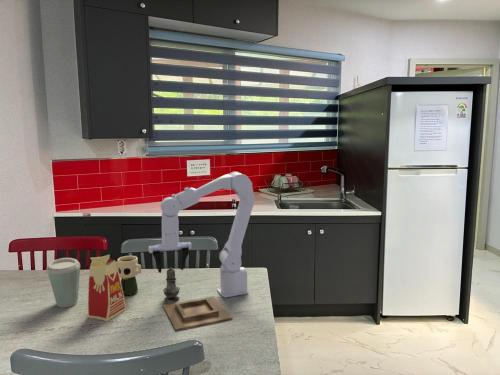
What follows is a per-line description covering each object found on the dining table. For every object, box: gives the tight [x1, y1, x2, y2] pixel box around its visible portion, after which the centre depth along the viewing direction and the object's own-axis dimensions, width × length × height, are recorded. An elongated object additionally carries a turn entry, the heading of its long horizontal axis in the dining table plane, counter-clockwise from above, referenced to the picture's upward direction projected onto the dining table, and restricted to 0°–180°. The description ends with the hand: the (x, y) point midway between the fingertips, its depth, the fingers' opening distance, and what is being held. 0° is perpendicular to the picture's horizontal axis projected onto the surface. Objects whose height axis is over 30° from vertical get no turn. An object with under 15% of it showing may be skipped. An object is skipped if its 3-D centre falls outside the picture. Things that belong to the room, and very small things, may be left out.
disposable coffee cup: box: [46, 257, 81, 308], centre depth 136 cm, size 11×11×15 cm
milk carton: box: [87, 254, 127, 322], centre depth 129 cm, size 9×9×20 cm
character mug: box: [115, 255, 142, 296], centre depth 146 cm, size 11×7×13 cm, turn 71°
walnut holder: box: [162, 295, 233, 332], centre depth 130 cm, size 18×18×2 cm
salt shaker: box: [162, 266, 181, 303], centre depth 140 cm, size 6×6×12 cm
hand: (170, 270), depth 139 cm, fingers open, 7 cm apart
